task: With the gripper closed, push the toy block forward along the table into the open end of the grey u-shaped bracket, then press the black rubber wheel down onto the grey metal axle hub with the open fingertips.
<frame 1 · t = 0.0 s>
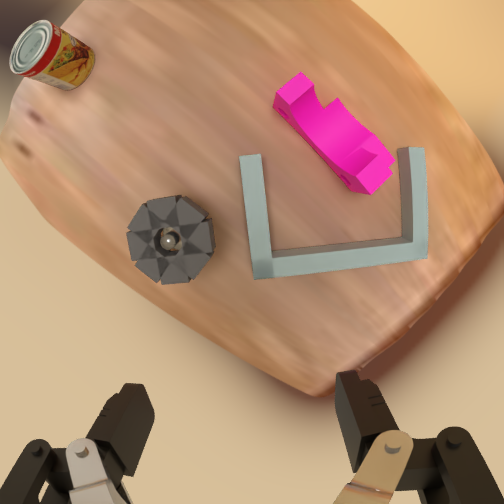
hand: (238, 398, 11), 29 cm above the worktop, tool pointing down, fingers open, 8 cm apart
canned food: (75, 67, 33), on the worktop
grey u-shaped bracket: (338, 206, 38), on the worktop
axle hub: (188, 226, 39), on the worktop
toy block: (329, 133, 36), on the worktop
wheel: (170, 239, 31), point 8 cm above the worktop, slide at 3.0 cm
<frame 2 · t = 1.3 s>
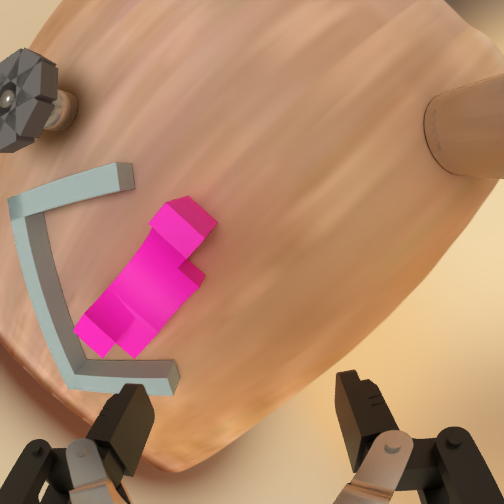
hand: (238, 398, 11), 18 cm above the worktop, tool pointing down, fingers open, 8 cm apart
grey u-shaped bracket: (93, 288, 29), on the worktop
axle hub: (62, 111, 25), on the worktop
toy block: (165, 272, 29), on the worktop
wheel: (14, 100, 17), point 8 cm above the worktop, slide at 3.0 cm
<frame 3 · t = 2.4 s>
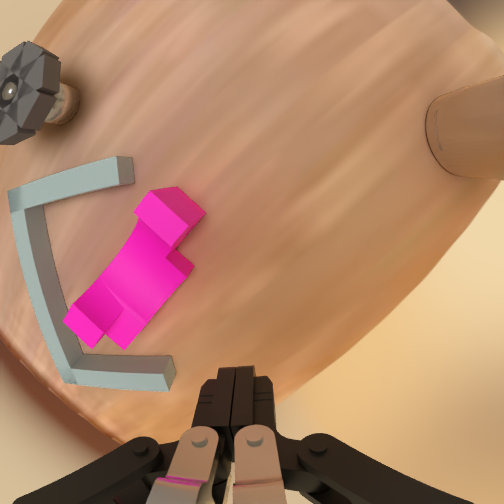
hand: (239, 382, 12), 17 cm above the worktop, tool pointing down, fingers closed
grey u-shaped bracket: (91, 281, 29), on the worktop
axle hub: (64, 105, 24), on the worktop
toy block: (155, 263, 29), on the worktop
wheel: (16, 92, 17), point 8 cm above the worktop, slide at 3.0 cm
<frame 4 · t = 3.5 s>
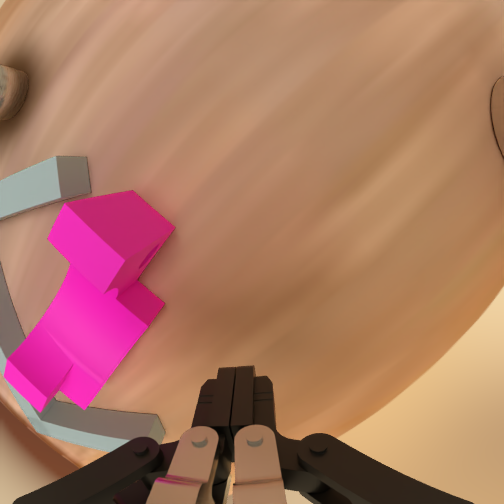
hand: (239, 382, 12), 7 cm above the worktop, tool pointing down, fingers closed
grey u-shaped bracket: (51, 322, 21), on the worktop
axle hub: (11, 94, 16), on the worktop
toy block: (114, 299, 20), on the worktop
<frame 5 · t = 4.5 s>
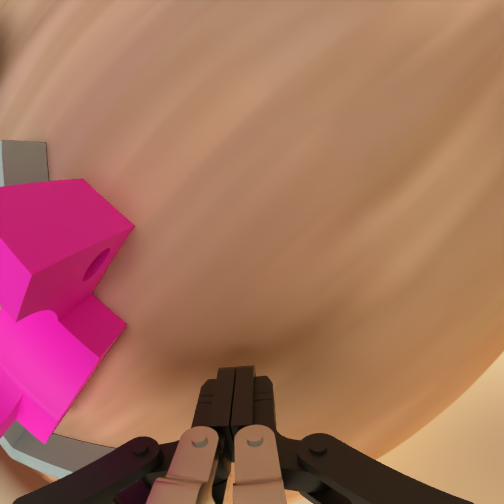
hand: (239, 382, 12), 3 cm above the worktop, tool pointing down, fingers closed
grey u-shaped bracket: (15, 344, 15), on the worktop
toy block: (69, 316, 15), on the worktop
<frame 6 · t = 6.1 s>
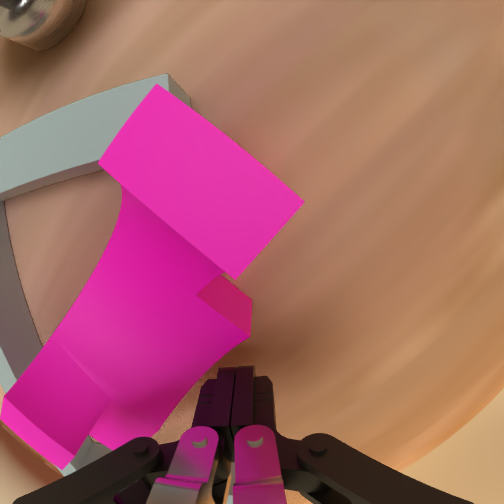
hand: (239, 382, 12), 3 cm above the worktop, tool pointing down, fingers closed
grey u-shaped bracket: (98, 348, 15), on the worktop
axle hub: (55, 19, 10), on the worktop
toy block: (167, 297, 14), on the worktop
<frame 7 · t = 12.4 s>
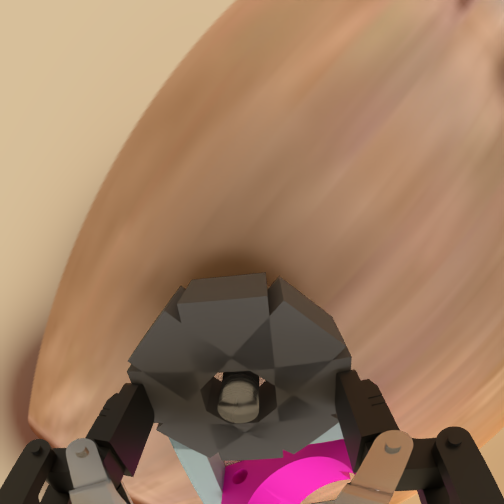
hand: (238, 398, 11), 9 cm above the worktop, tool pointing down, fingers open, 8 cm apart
grey u-shaped bracket: (275, 473, 24), on the worktop
axle hub: (247, 309, 20), on the worktop
toy block: (304, 452, 24), on the worktop
wheel: (240, 381, 12), point 8 cm above the worktop, slide at 2.3 cm, touching gripper
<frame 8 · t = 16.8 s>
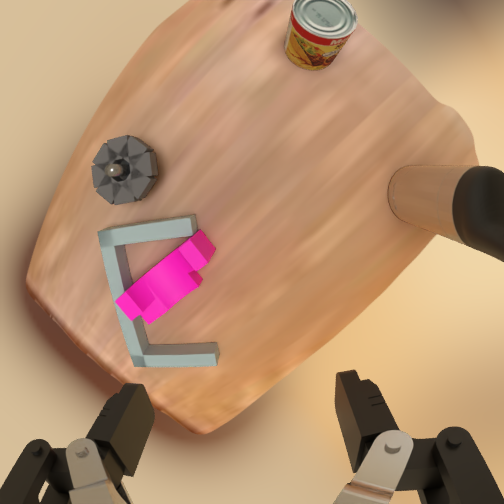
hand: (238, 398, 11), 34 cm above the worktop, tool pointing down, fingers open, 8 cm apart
canned food: (309, 49, 37), on the worktop
grey u-shaped bracket: (162, 294, 47), on the worktop
axle hub: (138, 170, 42), on the worktop
toy block: (177, 272, 46), on the worktop
wheel: (123, 170, 37), point 5 cm above the worktop, slide at 0.1 cm
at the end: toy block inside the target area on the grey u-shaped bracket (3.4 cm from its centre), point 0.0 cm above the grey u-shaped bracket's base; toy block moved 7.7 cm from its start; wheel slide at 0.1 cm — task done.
